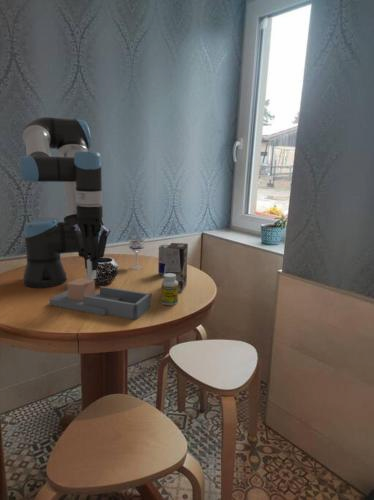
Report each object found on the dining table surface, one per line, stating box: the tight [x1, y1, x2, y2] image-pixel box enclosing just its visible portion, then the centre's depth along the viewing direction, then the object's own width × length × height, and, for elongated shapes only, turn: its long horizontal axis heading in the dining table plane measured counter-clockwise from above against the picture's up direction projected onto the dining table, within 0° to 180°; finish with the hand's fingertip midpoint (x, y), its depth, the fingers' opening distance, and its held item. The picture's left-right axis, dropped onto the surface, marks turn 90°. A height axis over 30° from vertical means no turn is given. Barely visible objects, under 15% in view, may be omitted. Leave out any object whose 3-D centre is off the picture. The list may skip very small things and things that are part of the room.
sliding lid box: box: [48, 285, 152, 321], centre depth 112 cm, size 30×12×4 cm, turn 71°
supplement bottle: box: [161, 273, 179, 306], centre depth 116 cm, size 5×5×10 cm
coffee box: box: [166, 242, 189, 293], centre depth 129 cm, size 9×6×16 cm
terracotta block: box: [67, 277, 96, 301], centre depth 114 cm, size 6×6×5 cm
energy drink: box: [157, 244, 170, 277], centre depth 144 cm, size 5×5×12 cm
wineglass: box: [128, 238, 145, 270], centre depth 153 cm, size 7×7×12 cm
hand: (92, 278), depth 112 cm, fingers closed
